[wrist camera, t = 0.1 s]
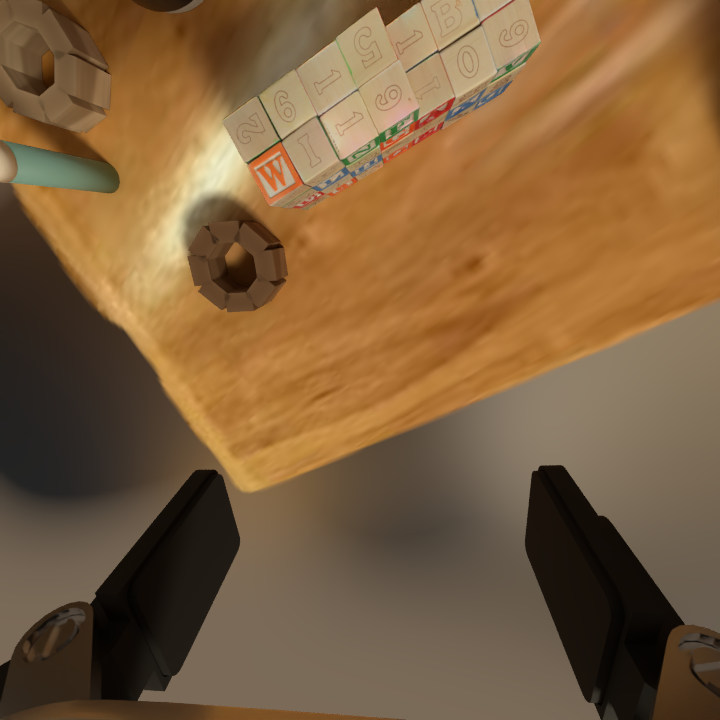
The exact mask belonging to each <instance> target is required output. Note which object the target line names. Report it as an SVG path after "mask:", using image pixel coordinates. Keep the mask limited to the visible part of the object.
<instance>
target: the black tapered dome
mask: <svg viewBox="0 0 720 720" xmlns="http://www.w3.org/2000/svg"><path fill="white" fill-rule="evenodd" d="M132 1H133V2H135V3H136V4H138V5H140V6H142V7H144V8H146V9H149V10H152V11H157V12H167V13H183V12H187V11H190V10H192V9H194V8H195V7H197V6H198V5H199V4H201V3H202V2H203V1H204V0H132Z"/></svg>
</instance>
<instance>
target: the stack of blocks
mask: <svg viewBox="0 0 720 720" xmlns="http://www.w3.org/2000/svg"><path fill="white" fill-rule="evenodd" d="M540 43H541V41H540V37H539V34H538V30H537V27H536V23H535V20H534V17H533V13H532V9H531V6H530V2H529V0H421V2H419V3H417V4H415V5H413V6H412V7H411V8H409V9H408V10H407V11H405V12H404V13H403V14H401V15H400V16H399V17H397V18H396V19H395V20H394V21H392V22H391V23H390V24H388V25H387V26H386V27H385V25H384V22H383V20H382V17H381V15H380V12H379V10H378V8H377V7H375V8H374V9H372V10H371V11H370V12H368V13H367V14H366V15H364V16H363V17H362V18H360V19H359V20H358V21H357V22H356V23H354V24H353V25H351V26H350V27H349V28H347V29H346V30H345V31H343V32H342V33H341V34H339V35H338V36H337V37H336V39H335V40H334V41H333V42H331V43H330V44H328V45H327V46H325V47H324V48H323V49H321V50H320V51H319V52H317V53H316V54H315V55H314V56H313V57H311V58H310V59H308V60H307V61H306V62H304V63H303V64H302V65H300V66H299V67H298V68H297V69H293V70H291V71H290V72H288V73H287V74H286V75H284V76H283V77H282V78H280V79H279V80H278V81H276V82H275V83H273V84H272V85H271V86H269V87H268V88H267V89H265V90H264V91H263V92H261V93H260V94H259V96H256V97H253V98H252V99H251V100H249V101H248V102H246V103H245V104H244V105H242V106H241V107H239V108H238V109H237V110H235V111H234V112H232V113H231V114H230V115H228V116H227V117H226V118H224V120H223V124H224V126H225V127H226V129H227V131H228V133H229V135H230V136H231V138H232V140H233V142H234V144H235V146H236V148H237V149H238V151H239V153H240V155H241V157H242V159H243V161H244V162H245V163H247V164H248V169H249V171H250V173H251V174H252V176H253V178H254V180H255V182H256V183H257V185H258V187H259V189H260V191H261V192H262V194H263V196H264V198H265V199H266V201H267V203H268V204H269V206H276V207H282V208H300V209H301V210H308V209H310V208H312V207H313V206H315V205H317V204H318V203H320V202H322V201H323V200H325V199H327V198H328V197H330V196H333V195H335V194H337V193H339V192H340V191H342V190H344V189H345V188H347V187H349V186H350V185H352V184H354V183H355V182H357V181H358V180H360V179H362V178H364V177H366V176H367V175H369V174H371V173H372V172H374V171H376V170H377V169H379V168H381V167H382V166H384V164H385V163H386V162H388V161H390V160H392V159H393V158H395V157H396V156H398V155H400V154H401V153H403V152H405V151H406V150H408V149H410V148H411V147H412V146H413V145H415V144H417V143H419V142H420V141H422V140H424V139H425V138H427V137H428V136H430V135H432V134H433V133H435V132H437V131H438V130H440V129H441V130H443V129H444V128H446V127H448V126H450V125H451V124H453V123H455V122H456V121H458V120H460V119H461V118H463V117H465V116H466V115H468V114H469V113H471V112H472V111H473V110H475V109H477V108H479V107H480V106H482V105H484V104H485V103H487V102H488V101H490V100H492V99H493V98H495V97H497V96H498V95H500V94H502V93H503V92H504V91H505V89H506V88H507V87H508V86H509V85H510V83H511V82H512V81H513V79H515V77H516V76H517V75H518V74H519V73H520V71H521V70H522V69H523V67H524V66H525V65H526V61H527V60H528V59H529V57H530V56H531V55H532V53H533V52H534V51H535V50H536V49H537V47H538V46H539V44H540Z"/></svg>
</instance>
